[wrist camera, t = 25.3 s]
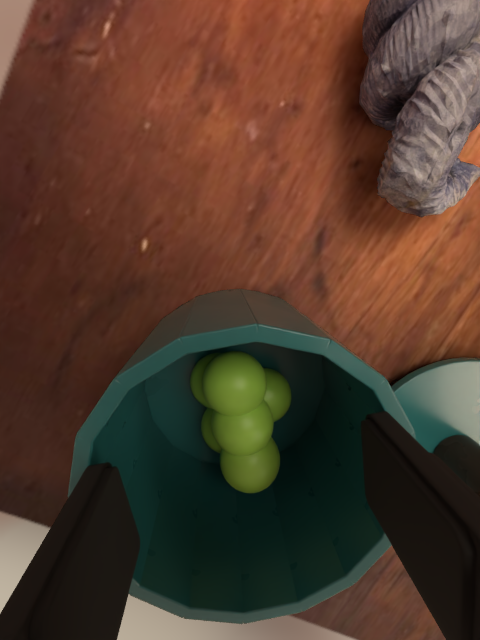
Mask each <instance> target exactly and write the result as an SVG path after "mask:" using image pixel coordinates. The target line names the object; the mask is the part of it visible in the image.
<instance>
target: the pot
mask: <svg viewBox="0 0 480 640" xmlns="http://www.w3.org/2000/svg"><path fill="white" fill-rule="evenodd" d="M229 351H240V352H244V353H247V354H249V355H251V356H252V357H254V358H255V359H256V360H257V361H258V362H259V363H260V364H261V366H262V368H269V369H273V370H275V371H277V372H279V373H280V374H281V375H282V376H283V377H284V378H285V379H286V380H287V382H288V384H289V386H290V389H291V403H290V407H289V409H288V411H287V412H286V414H285V415H284V416H283V417H282V418H281V419H279V420H277V421H275V422H274V426H273V432H272V435H271V437H272V438H273V440H274V441H275V443H276V445H277V447H278V450H279V454H280V467H279V471H278V474H277V476H276V478H275V480H274V481H273V482H272V484H271V485H270V486H269V487H267V488H266V489H264V490H262V491H260V492H257V493H244V492H240V491H238V490H236V489H235V488H233V487H232V486H231V485H230V484H229V483H228V482H227V481H226V479H225V478H224V476H223V474H222V471H221V468H220V453H218V452H216V451H214V450H212V449H211V448H210V447H209V446H208V445H207V444H206V442H205V440H204V438H203V436H202V432H201V421H202V417H203V414H204V412H205V411H206V409H207V407H205V406H203V405H202V404H200V403H199V402H198V401H197V400H196V398H195V397H194V395H193V393H192V390H191V386H190V377H191V373H192V370H193V368H194V366H195V365H196V363H197V362H198V361H199V360H200V359H202V358H203V357H205V356H206V355H209V354H212V353H225V352H229ZM383 411H387V412H388V413H389V414H390V415H391V416H392V417H393V418H394V419H395V420H396V421H397V422H398V423H399V424H400V425H401V426H402V427H403V428H404V429H405V430H406V431H407V432H408V433H410V434H411V435H412V436H413V437H414V438H415V433H414V429H413V427H412V425H411V424H410V422H409V420H408V418H407V416H406V414H405V412H404V410H403V409H402V407H401V405H400V403H399V401H398V399H397V397H396V396H395V394H394V392H393V390H392V388H391V386H390V384H389V382H388V381H387V379H385V377H384V376H383V375H381V374H380V373H379V372H378V371H376V370H375V369H374V368H372V367H371V366H370V365H369V364H367V363H366V362H365V361H363V360H362V359H361V358H359V357H358V356H357V355H356V354H354V353H353V352H352V351H350V350H349V349H348V348H347V347H345V346H344V345H343V344H341V343H340V342H339V341H338V340H336V339H335V338H334V337H332V336H331V335H330V334H329V333H327V332H326V331H325V330H323V329H322V328H321V327H319V326H318V325H317V324H316V323H314V322H313V321H312V320H310V319H309V318H308V317H306V316H305V315H303V314H302V313H301V312H299V311H298V310H297V309H295V308H294V307H292V306H291V305H290V304H288V303H287V302H286V301H284V300H283V299H281V298H279V297H275V296H272V295H268V294H265V293H261V292H257V291H251V290H244V289H231V290H222V291H216V292H212V293H208V294H204V295H200V296H197V297H195V298H194V299H192V300H190V301H188V302H186V303H185V304H183V305H181V306H180V307H178V308H177V309H176V310H174V311H173V312H172V313H170V314H169V315H167V316H165V317H164V318H163V319H162V320H161V321H160V322H159V324H158V325H157V326H156V327H155V329H154V330H153V331H152V332H151V333H150V335H149V336H148V337H147V338H146V340H145V341H144V342H143V343H142V344H141V346H140V347H139V348H138V349H137V351H136V352H135V353H134V354H133V356H132V357H131V358H130V359H129V360H128V362H127V363H126V364H125V365H124V367H123V368H122V369H121V370H120V372H119V373H118V374H117V375H116V376H115V378H114V379H113V380H112V382H111V383H110V385H109V386H108V388H107V389H106V391H105V392H104V394H103V395H102V397H101V398H100V400H99V401H98V403H97V404H96V406H95V407H94V409H93V410H92V412H91V413H90V415H89V416H88V417H87V419H86V420H85V422H84V423H83V425H82V426H81V428H80V429H79V431H78V432H77V435H76V437H75V444H74V452H73V459H72V467H71V475H70V483H69V490H68V498H69V496H70V495H71V493H72V491H73V490H74V488H75V486H76V484H77V483H78V481H79V479H80V478H81V476H82V474H83V472H84V471H85V469H86V468H87V467H88V466H90V465H95V464H101V463H106V462H109V463H111V464H112V467H114V466H116V467H117V468H118V470H119V473H120V476H121V479H122V482H123V485H124V489H125V492H126V495H127V498H128V501H129V504H130V508H131V511H132V514H133V517H134V520H135V523H136V527H137V530H138V533H139V537H140V550H139V554H138V558H137V562H136V566H135V570H134V574H133V578H132V582H131V586H130V590H129V594H130V595H131V596H133V597H135V598H138V599H140V600H142V601H145V602H147V603H149V604H151V605H154V606H156V607H158V608H160V609H163V610H165V611H167V612H170V613H172V614H174V615H177V616H179V617H181V618H183V617H184V618H185V619H194V620H204V621H215V622H226V623H237V624H243V623H244V624H246V623H251V622H256V621H260V620H265V619H271V618H275V617H280V616H285V615H290V614H295V613H300V612H302V611H305V610H307V609H309V608H311V607H313V606H315V605H316V604H318V603H320V602H322V601H324V600H326V599H328V598H329V597H331V596H333V595H335V594H337V593H339V592H341V591H342V590H344V589H346V588H348V587H350V586H352V585H353V584H354V583H356V582H357V581H358V580H359V579H360V578H361V577H362V576H363V575H364V574H365V573H366V572H367V570H368V569H369V568H370V567H371V566H372V565H373V564H374V563H375V562H376V561H377V560H378V559H379V558H380V557H381V556H382V555H383V554H384V553H385V552H386V551H387V550H388V548H389V547H390V546H391V543H390V541H389V539H388V538H387V536H386V534H385V532H384V531H383V529H382V527H381V526H380V524H379V522H378V520H377V519H376V517H375V515H374V513H373V512H372V510H371V508H370V506H369V504H368V502H367V499H366V495H365V485H364V469H363V453H362V438H361V421H363V420H365V418H366V415H367V414H372V413H377V412H383Z"/></svg>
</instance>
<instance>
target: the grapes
mask: <svg viewBox="0 0 480 640" xmlns="http://www.w3.org/2000/svg"><path fill="white" fill-rule="evenodd" d="M190 386H191V390H192V393H193V395H194V397H195V398H196V400H197V401H198V402H199V403H200V404H202V405H203V406H205V407H207V409H206V411H205V412H204V414H203V417H202V421H201V432H202V436H203V438H204V440H205V442H206V444H207V445H208V446H209V447H210V448H211V449H212V450H214V451H216V452H218V453H220V468H221V471H222V474H223V476H224V478H225V479H226V481H227V482H228V483H229V484H230V485H231V486H232V487H233V488H235V489H236V490H238V491H240V492H244V493H257V492H260V491H262V490H264V489H266V488H267V487H269V486H270V485H271V484H272V482H273V481H274V480H275V478H276V476H277V474H278V471H279V467H280V454H279V450H278V447H277V445H276V443H275V441H274V440H273V438H272V437H271V435H272V432H273V426H274V422H275V421H277V420H279V419H281V418H282V417H283V416H284V415H285V414H286V412H287V411H288V409H289V407H290V403H291V389H290V386H289V384H288V382H287V380H286V379H285V378H284V377H283V376H282V375H281V374H280V373H279V372H277V371H275V370H273V369H269V368H262V366H261V364H260V363H259V362H258V361H257V360H256V359H255V358H254V357H252V356H251V355H249V354H247V353H244V352H240V351H229V352H225V353H212V354H209V355H206V356H205V357H203V358H202V359H200V360H199V361H198V362H197V363H196V365H195V366H194V368H193V370H192V373H191V377H190Z"/></svg>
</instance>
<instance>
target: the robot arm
mask: <svg viewBox="0 0 480 640" xmlns="http://www.w3.org/2000/svg"><path fill="white" fill-rule="evenodd" d="M361 438H362V453H363V469H364V485H365V495H366V499H367V502H368V504H369V506H370V508H371V510H372V512H373V513H374V515H375V517H376V519H377V520H378V522H379V524H380V526H381V527H382V529H383V531H384V532H385V534H386V536H387V538H388V539H389V541H390V543H391V545H392V546H393V548H394V550H395V552H396V553H397V555H398V557H399V558H400V560H401V562H402V564H403V565H404V567H405V569H406V571H407V572H408V574H409V576H410V578H411V579H412V581H413V583H414V584H415V586H416V588H417V590H418V591H419V593H420V595H421V597H422V598H423V600H424V602H425V604H426V605H427V607H428V609H429V610H430V612H431V614H432V616H433V617H434V619H435V621H436V623H437V624H438V626H439V628H440V630H441V631H442V633H443V635H444V636H445V638H446V640H480V497H479V496H478V495H477V494H476V493H475V492H474V491H473V490H472V489H471V488H470V487H469V486H468V485H467V484H466V483H464V482H463V481H462V480H461V479H460V478H459V477H458V476H457V475H456V474H455V473H454V472H453V471H452V470H451V469H450V468H449V467H448V466H447V465H446V464H445V463H444V462H443V461H442V460H441V459H440V458H439V457H437V456H436V455H435V454H433V453H430V452H428V451H427V450H426V449H425V448H424V447H423V446H422V445H421V444H420V443H419V442H418V441H417V440H416V439H415V438H414V437H413V436H412V435H411V434H410V433H408V432H407V431H406V430H405V429H404V428H403V427H402V426H401V425H400V424H399V423H398V422H397V421H396V420H395V419H394V418H393V417H392V416H391V415H390V414H389V413H388V412H387V411H383V412H377V413H372V414H367V415H366V418H365V420H363V421H361ZM139 550H140V537H139V533H138V530H137V527H136V523H135V520H134V517H133V514H132V511H131V508H130V504H129V501H128V498H127V495H126V492H125V489H124V485H123V482H122V479H121V476H120V473H119V470H118V468H117V467H116V466H114V467H112V464H111V463H109V462H106V463H101V464H95V465H90V466H88V467H87V468H86V469H85V471H84V472H83V474H82V476H81V478H80V479H79V481H78V483H77V484H76V486H75V488H74V490H73V491H72V493H71V495H70V496H69V498H68V500H67V501H66V503H65V505H64V507H63V508H62V510H61V512H60V513H59V515H58V517H57V518H56V520H55V522H54V524H53V525H52V527H51V529H50V530H49V532H48V534H47V535H46V537H45V539H44V540H43V542H42V544H41V546H40V547H39V549H38V551H37V552H36V554H35V556H34V557H33V559H32V561H31V563H30V564H29V566H28V568H27V569H26V571H25V573H24V574H23V576H22V578H21V580H20V581H19V583H18V585H17V587H16V588H15V590H14V591H13V593H12V595H11V597H10V598H9V600H8V602H7V603H6V605H5V607H4V608H3V610H2V612H1V614H0V640H117V636H118V632H119V628H120V625H121V620H122V617H123V613H124V609H125V605H126V601H127V597H128V594H129V590H130V586H131V582H132V578H133V574H134V570H135V566H136V562H137V558H138V554H139Z"/></svg>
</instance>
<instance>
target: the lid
mask: <svg viewBox="0 0 480 640" xmlns="http://www.w3.org/2000/svg"><path fill="white" fill-rule="evenodd" d="M391 388H392V390H393V392H394V394H395V396H396V397H397V399H398V401H399V403H400V405H401V407H402V409H403V410H404V412H405V414H406V416H407V418H408V420H409V422H410V424H411V425H412V427H413V429H414V433H415V439H416V440H417V441H418V442H419V443H420V444H421V445H422V446H423V447H424V448H425V449H426V450H427V451H428V452H430V453H433V454H435V455H436V456H437V457H439V458H440V459H441V460H442V461H443V462H444V463H445V464H446V465H447V466H448V467H449V468H450V469H451V470H452V471H453V472H454V473H455V474H456V475H457V476H458V477H459V478H460V479H461V480H462V481H463V482H464V483H466V484H467V485H468V486H469V487H470V488H471V489H472V490H473V491H474V492H475V493H476V494H477V495H478V496H479V497H480V358H454V359H447V360H442V361H438V362H434V363H432V364H429V365H426V366H424V367H421V368H419V369H417V370H415V371H413V372H411V373H409V374H408V375H406V376H405V377H403V378H402V379H400V380H399V381H397V382H396V383H395V384H394V385H392V386H391Z"/></svg>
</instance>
